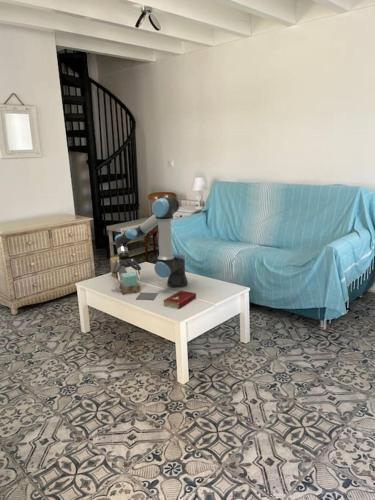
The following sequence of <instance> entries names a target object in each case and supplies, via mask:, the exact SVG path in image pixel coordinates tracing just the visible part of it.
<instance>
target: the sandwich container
mask: <svg viewBox="0 0 375 500" xmlns="http://www.w3.org/2000/svg"><path fill="white" fill-rule="evenodd" d="M116 260H117V261H119V256H118V255H117V256H114V257H113V256H112V257H110V258H109V263H110V272H111V273H110V274H111V277H112V278H114V279H116V280H118V278H116V274H115V273H114V274H113V269H114V266H115V261H116ZM119 266H120V263H118V264H117V267H116V270H117V269H118V267H119ZM125 267H126V266H122V267H121V268H120V270H119V271H118V272H119V277H120V281H122V277H121V274H122V273H128V271H127V270H126V268H125ZM116 270H115V271H116Z"/></svg>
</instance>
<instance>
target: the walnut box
mask: <svg viewBox="0 0 375 500" xmlns="http://www.w3.org/2000/svg"><path fill="white" fill-rule="evenodd" d="M119 290H120V292H121V293H122V295H129V294H137V293H141V284H140V283H139V282H138V281H137V285H135V286H128V287H124V285H123V284H122V282H119Z"/></svg>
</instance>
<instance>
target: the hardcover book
mask: <svg viewBox="0 0 375 500" xmlns="http://www.w3.org/2000/svg"><path fill="white" fill-rule="evenodd" d="M196 298H197V294H196V292H192V291H187V290H183V289H182V290H179V291H176V292H174V293H173V294H172V295H169V296H168V297H166V298H164V299H162V301H163V306H165V307H168V308H173V309H177V310H179V309H181V308H182V307H184V306H185V305H187V304H189V303H190V302H193V300H195V299H196Z"/></svg>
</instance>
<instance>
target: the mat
mask: <svg viewBox="0 0 375 500" xmlns="http://www.w3.org/2000/svg"><path fill="white" fill-rule="evenodd" d="M158 294H159V293H158V292H139V294H138V295H137V297H136V298H135V300H138V301H141V300H142V301H143V300H144V301H154V300H155V299H156V297H157V295H158Z"/></svg>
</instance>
